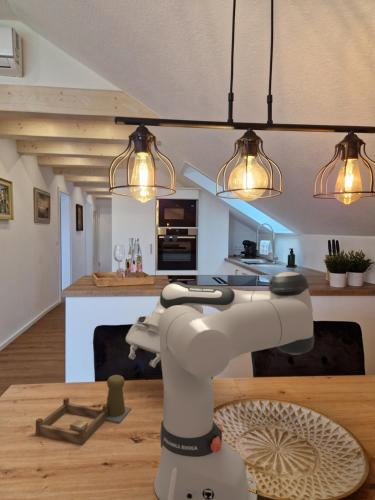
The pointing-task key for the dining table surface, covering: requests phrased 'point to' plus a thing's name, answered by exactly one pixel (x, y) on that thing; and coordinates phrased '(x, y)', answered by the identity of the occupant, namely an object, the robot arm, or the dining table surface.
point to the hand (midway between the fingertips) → (141, 362)
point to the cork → (115, 396)
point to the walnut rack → (69, 435)
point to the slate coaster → (117, 419)
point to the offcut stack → (78, 425)
